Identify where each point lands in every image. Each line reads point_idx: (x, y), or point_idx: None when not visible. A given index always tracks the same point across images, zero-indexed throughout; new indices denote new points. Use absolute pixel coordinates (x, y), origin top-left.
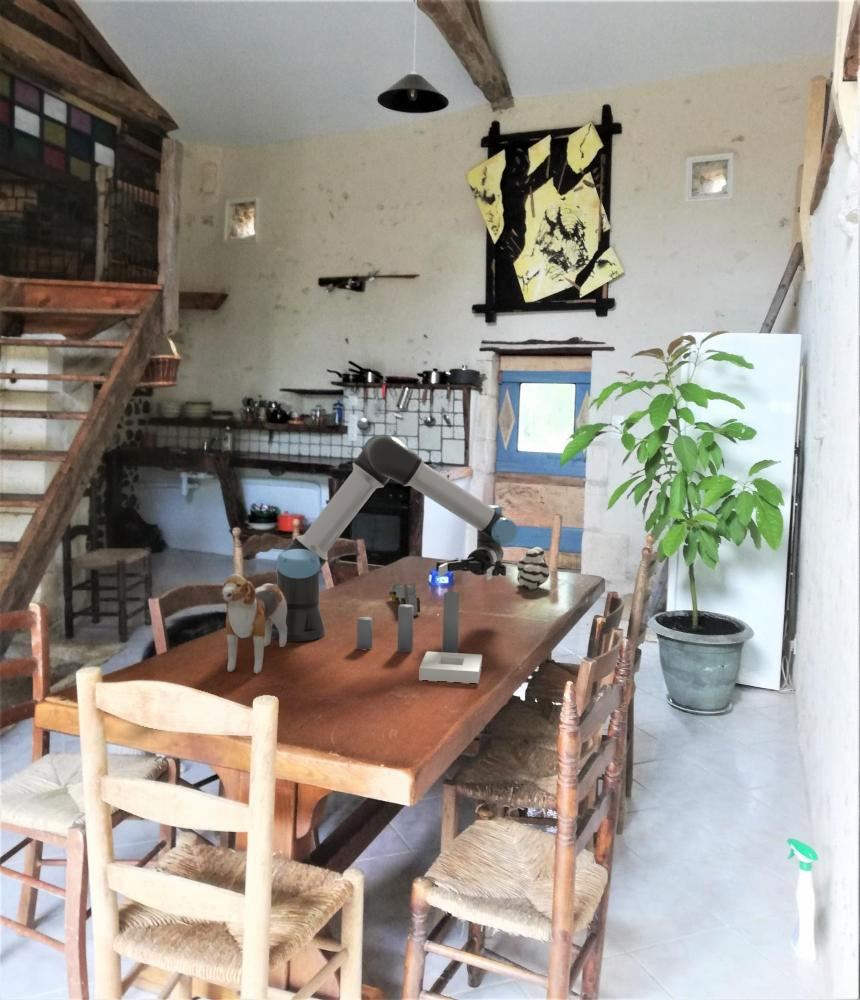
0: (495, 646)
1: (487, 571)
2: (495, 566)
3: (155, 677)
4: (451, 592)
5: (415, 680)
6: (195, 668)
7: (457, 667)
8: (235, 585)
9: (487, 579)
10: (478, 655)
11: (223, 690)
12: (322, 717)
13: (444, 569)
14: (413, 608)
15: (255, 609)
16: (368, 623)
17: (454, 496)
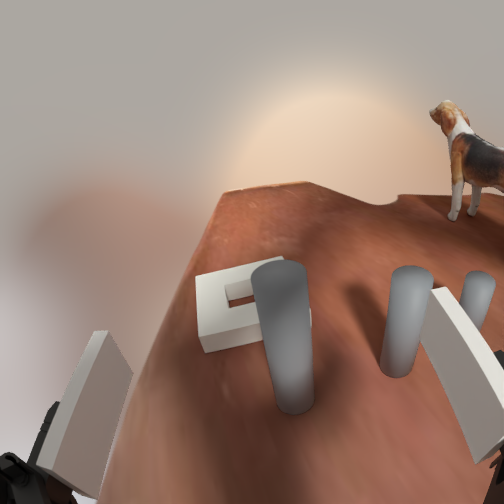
0: (194, 497)
1: (108, 336)
2: (31, 470)
3: (485, 194)
4: (285, 284)
5: None
6: (494, 209)
7: (229, 276)
8: (435, 108)
9: (127, 370)
10: (205, 330)
11: (426, 197)
12: (317, 199)
13: (459, 372)
14: (394, 288)
15: (450, 145)
16: (464, 283)
17: None
